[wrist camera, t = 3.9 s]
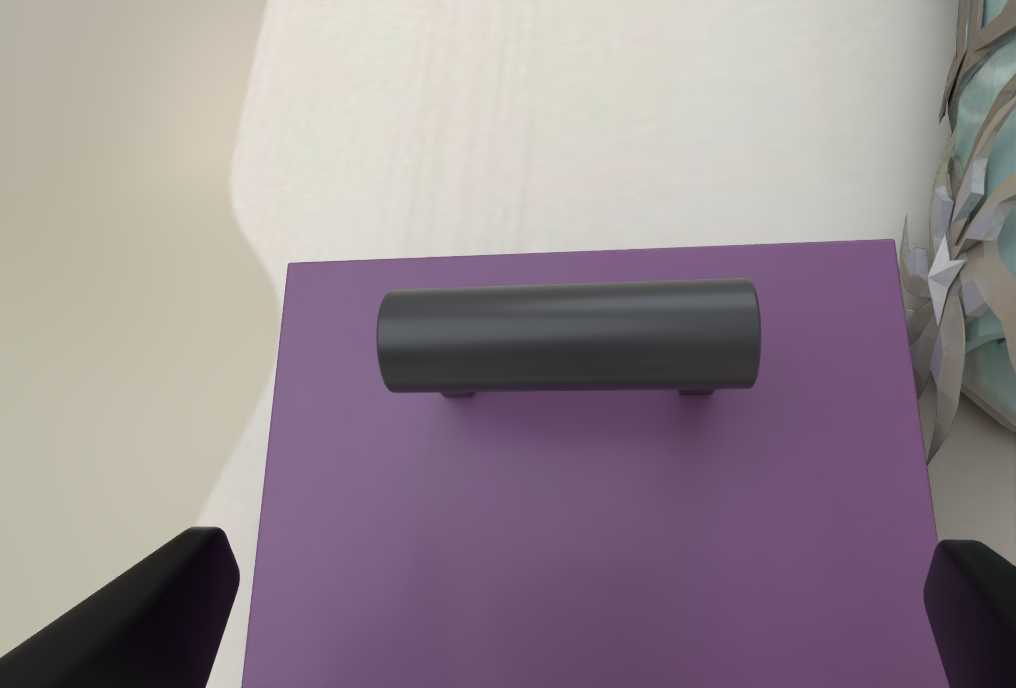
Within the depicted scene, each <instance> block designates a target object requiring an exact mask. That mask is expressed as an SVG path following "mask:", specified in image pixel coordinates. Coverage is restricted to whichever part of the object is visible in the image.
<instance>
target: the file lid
mask: <svg viewBox="0 0 1016 688" xmlns="http://www.w3.org/2000/svg"><path fill="white" fill-rule="evenodd" d="M937 544H938V539H937V532H936V525H935V518H934V511H933V504H932V497H931V490H930V483H929V477H928V470H927V463H926V456H925V449H924V442H923V435H922V428H921V421H920V414H919V407H918V400H917V393H916V386H915V379H914V372H913V365H912V358H911V351H910V345H909V338H908V331H907V324H906V317H905V310H904V303H903V296H902V289H901V282H900V275H899V268H898V261H897V254H896V247H895V241H894V240H893V239H881V240H856V241H831V242H805V243H780V244H755V245H730V246H704V247H679V248H654V249H628V250H603V251H578V252H552V253H527V254H502V255H477V256H451V257H426V258H401V259H375V260H350V261H325V262H299V263H289V264H288V269H287V278H286V287H285V296H284V305H283V314H282V323H281V332H280V342H279V351H278V360H277V369H276V378H275V387H274V396H273V405H272V414H271V423H270V432H269V442H268V451H267V460H266V469H265V478H264V487H263V496H262V505H261V514H260V523H259V532H258V542H257V551H256V560H255V569H254V578H253V587H252V596H251V605H250V614H249V623H248V633H247V642H246V651H245V660H244V669H243V678H242V687H241V688H950V687H949V684H948V681H947V678H946V674H945V671H944V668H943V665H942V661H941V658H940V655H939V652H938V649H937V645H936V642H935V639H934V636H933V632H932V629H931V626H930V623H929V620H928V616H927V613H926V610H925V606H924V600H923V589H924V584H925V581H926V578H927V574H928V571H929V567H930V564H931V560H932V557H933V554H934V550H935V548H936V546H937Z"/></svg>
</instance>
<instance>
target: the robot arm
mask: <svg viewBox="0 0 1016 688" xmlns="http://www.w3.org/2000/svg"><path fill="white" fill-rule="evenodd" d="M239 582H240V573H239V568H238V565H237V562H236V560H235V557H234V554H233V552H232V549H231V547H230V544H229V541H228V539H227V536H226V534H225V532H224V531H223V530H222V529H221V528H218V527H191V528H188V529H187V530H185V531H184V532H182V533H181V534H179V535H178V536H176V537H175V538H173V539H172V540H170V541H169V542H168V543H166V544H165V545H163V546H162V547H160V548H159V549H157V550H156V551H155V552H153V553H152V554H150V555H149V556H147V557H146V558H144V559H143V560H142V561H140V562H139V563H137V564H136V565H134V566H133V567H131V568H130V569H129V570H127V571H126V572H124V573H123V574H121V575H120V576H118V577H117V578H116V579H114V580H113V581H111V582H110V583H108V584H107V585H105V586H104V587H102V588H101V589H100V590H98V591H97V592H95V593H94V594H92V595H91V596H89V597H88V598H87V599H85V600H84V601H82V602H81V603H79V604H78V605H77V606H75V607H74V608H72V609H71V610H69V611H68V612H66V613H65V614H63V615H62V616H60V617H59V618H58V619H56V620H55V621H53V622H52V623H50V624H49V625H48V626H46V627H45V628H43V629H42V630H40V631H39V632H37V633H36V634H34V635H33V636H32V637H30V638H29V639H27V640H26V641H24V642H23V643H21V644H20V645H19V646H17V647H16V648H14V649H13V650H11V651H10V652H8V653H7V654H5V655H4V656H3V657H1V658H0V688H205V687H206V684H207V682H208V679H209V676H210V673H211V670H212V667H213V664H214V661H215V658H216V655H217V652H218V649H219V645H220V642H221V639H222V636H223V633H224V630H225V627H226V624H227V621H228V618H229V615H230V612H231V609H232V606H233V603H234V600H235V597H236V594H237V591H238V587H239ZM923 600H924V606H925V610H926V613H927V616H928V620H929V623H930V626H931V629H932V632H933V636H934V639H935V642H936V645H937V649H938V652H939V655H940V658H941V661H942V665H943V668H944V671H945V674H946V678H947V681H948V684H949V687H950V688H1016V566H1014V565H1013V564H1011V563H1010V562H1009V561H1007V560H1006V559H1005V558H1003V557H1002V556H1000V555H999V554H998V553H996V552H995V551H993V550H992V549H991V548H989V547H988V546H986V545H985V544H983V543H981V542H979V541H975V540H942V541H940V542H939V543H938V544H937V546H936V548H935V550H934V554H933V557H932V560H931V564H930V567H929V571H928V574H927V578H926V581H925V584H924V589H923Z"/></svg>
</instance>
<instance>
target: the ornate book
mask: <svg viewBox="0 0 1016 688" xmlns="http://www.w3.org/2000/svg"><path fill="white" fill-rule="evenodd" d="M954 59H955V55H954V58H953V61H952V65H951V68H950V71H949V74H948V78H947V83H946V87H945V92H944V96H943V101H942V105H941V110H940V115H939V124H940V122H941V120H942V118H943V116H945V112H946V104H947V101H948V115H949V120H950V125H951V130H952V136H951V139H950V141H949V143H948V145H947V148H946V150H945V152H944V154H943V156H942V159H941V162H940V166H939V169H938V172H937V176H936V179H935V182H934V186H933V195H932V203H931V211H930V219H929V231H930V255H931V258H932V261H933V265H932V267H931V270H930V272H928V263H927V253H926V249H921V248H915V249H913V250H912V251H911V252H910V250H909V247H908V236H907V214H906V220H905V226H904V231H903V237H902V243H901V249H900V274H901V277H902V279H903V282H904V284H905V287H906V290H907V291H908V292H909V293H911V294H913V295H915V296H917V297H918V298H923V297H924V298H930V301H929V302H928V303H926V304H925V305H923V306H922V307H920V308H919V309H917V310H916V311H915V310H913V309H907V308H904V310H905V317H906V324H907V331H908V338H909V345H910V348H911V349H910V351H911V358H912V365H913V372H914V379H915V386H916V393H917V400H918V399H919V398H920V396H921V394H922V392H923V390H924V388H925V386H926V384H927V380H928V377H929V374H930V371H931V372H932V375H933V378H934V380H935V383H936V386H937V408H936V424H935V428H934V433H933V438H932V442H931V447H930V451H929V456H928V460H927V465H928V464H929V462H930V461H931V459H932V458H933V456H934V455H935V453H936V452H937V451H938V449H939V448H940V446H941V445H942V443H943V442H944V440H945V439H946V438H947V436H948V433H949V431H950V428H951V425H952V422H953V419H954V417H955V414H956V411H957V408H958V403H959V396H960V391H961V392H962V393H964V394H965V395H966V396H967V397H968V398H970V399H971V400H972V401H973V402H974V403H976V404H977V405H978V406H979V407H980V408H982V409H983V410H984V411H985V412H986V413H988V414H989V415H990V416H991V417H992V418H994V419H995V420H996V421H997V422H998V423H1000V424H1001V425H1002V426H1004V427H1006V428H1007V429H1009V430H1011V431H1013V432H1014V433H1016V0H960V1H959V11H958V20H957V39H956V61H955V64H954ZM953 65H954V67H953ZM947 172H948V173H949V174H950V180H951V189H952V200H951V199H950V198H949V197H948V193H947V189H946V178H947ZM949 220H950V229H949V241H948V244H947V241H946V232H947V228H948V224H949ZM914 343H915V344H914ZM913 344H914V345H913Z"/></svg>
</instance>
